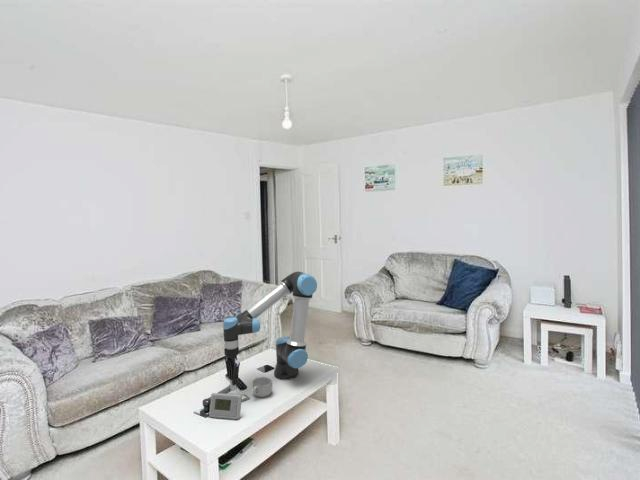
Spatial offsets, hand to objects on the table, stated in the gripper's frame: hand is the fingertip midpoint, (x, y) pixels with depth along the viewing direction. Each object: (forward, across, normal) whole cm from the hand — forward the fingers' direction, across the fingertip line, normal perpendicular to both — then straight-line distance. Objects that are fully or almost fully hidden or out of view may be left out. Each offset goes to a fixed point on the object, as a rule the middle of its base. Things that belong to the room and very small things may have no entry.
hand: (233, 390), depth 196 cm
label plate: (+5, +3, +3) cm, 6 cm away
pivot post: (+5, +3, -16) cm, 17 cm away
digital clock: (+5, +12, -11) cm, 18 cm away
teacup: (+5, +7, +13) cm, 15 cm away
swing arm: (+1, 0, -8) cm, 8 cm away
